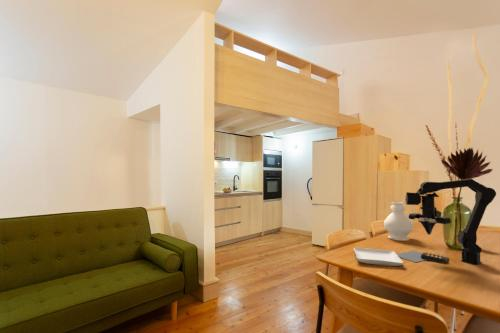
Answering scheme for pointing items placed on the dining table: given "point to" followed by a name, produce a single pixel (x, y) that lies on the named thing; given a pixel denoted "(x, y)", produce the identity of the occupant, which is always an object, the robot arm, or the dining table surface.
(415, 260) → the mat
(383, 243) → the dining table surface
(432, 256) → the ammunition clip
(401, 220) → the decorative vase
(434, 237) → the dining table surface
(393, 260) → the salad plate
